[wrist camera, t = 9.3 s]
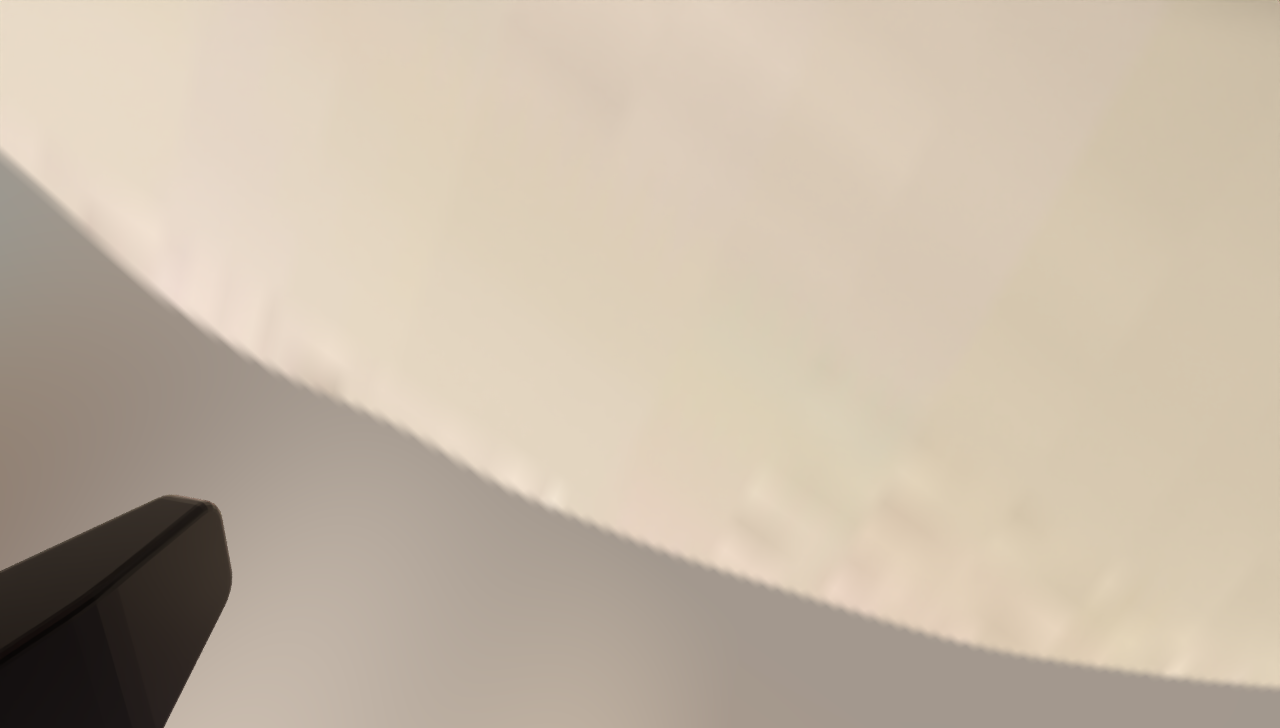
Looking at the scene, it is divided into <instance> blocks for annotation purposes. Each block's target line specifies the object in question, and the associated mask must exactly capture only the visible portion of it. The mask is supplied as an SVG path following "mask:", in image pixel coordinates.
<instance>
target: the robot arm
mask: <svg viewBox="0 0 1280 728" xmlns="http://www.w3.org/2000/svg"><path fill="white" fill-rule="evenodd" d="M231 585H232V569H231V564H230V558H229V553H228V547H227V542H226V536H225V531H224V525H223V520H222V515H221V512H220V510H219V509H218V507H217V506H216V505H215V504H214V503H211V502H210V501H206V500H201V499H195V498H190V497H184V496H179V495H165V496H162V497H160V498H157V499H154V500H152V501H150V502H148V503H146V504H144V505H142V506H140V507H137V508H135V509H133V510H131V511H129V512H126V513H125V514H122V515H120V516H118V517H116V518H114V519H111V520H109V521H107V522H105V523H103V524H101V525H98V526H97V527H94V528H92V529H90V530H88V531H86V532H83V533H81V534H79V535H77V536H75V537H73V538H71V539H69V540H66V541H64V542H62V543H60V544H58V545H55V546H53V547H51V548H49V549H47V550H45V551H43V552H40V553H38V554H36V555H34V556H32V557H30V558H28V559H25V560H23V561H21V562H19V563H17V564H15V565H12V566H10V567H8V568H6V569H4V570H2V571H0V728H164V726H165V724H166V722H167V720H168V718H169V716H170V714H171V712H172V710H173V708H174V706H175V704H176V702H177V700H178V698H179V696H180V694H181V692H182V690H183V688H184V686H185V684H186V682H187V680H188V678H189V676H190V674H191V672H192V670H193V668H194V666H195V664H196V662H197V660H198V658H199V656H200V654H201V652H202V650H203V648H204V646H205V644H206V642H207V640H208V638H209V636H210V634H211V632H212V630H213V628H214V626H215V624H216V622H217V620H218V618H219V616H220V614H221V612H222V610H223V608H224V606H225V604H226V602H227V600H228V597H229V593H230V590H231Z"/></svg>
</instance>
